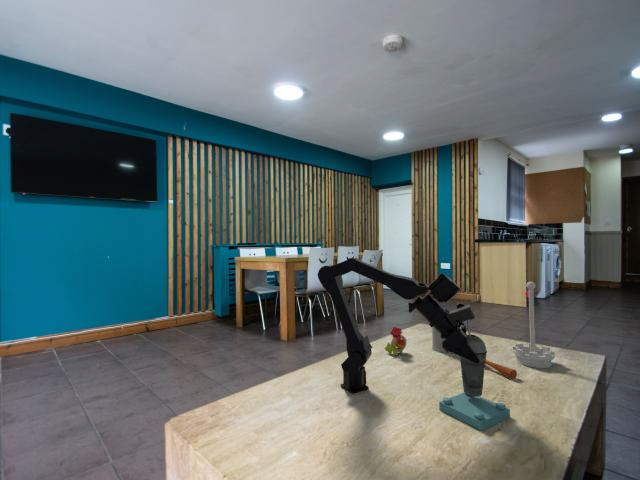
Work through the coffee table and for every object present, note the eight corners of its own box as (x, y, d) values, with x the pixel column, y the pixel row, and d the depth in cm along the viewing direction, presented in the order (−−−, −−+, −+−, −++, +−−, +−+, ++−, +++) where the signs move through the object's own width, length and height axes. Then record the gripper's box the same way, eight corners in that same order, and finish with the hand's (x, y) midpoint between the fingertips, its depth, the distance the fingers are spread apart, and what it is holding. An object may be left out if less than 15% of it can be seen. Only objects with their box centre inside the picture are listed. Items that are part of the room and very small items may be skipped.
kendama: (505, 369, 105) (458, 347, 123) (507, 386, 105) (460, 361, 124) (518, 363, 107) (470, 342, 125) (520, 380, 107) (471, 356, 126)
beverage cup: (479, 401, 83) (477, 323, 84) (452, 391, 89) (451, 318, 90) (493, 393, 88) (491, 319, 88) (467, 384, 93) (466, 314, 94)
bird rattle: (395, 355, 137) (379, 350, 133) (403, 329, 139) (387, 323, 135) (406, 359, 131) (390, 354, 127) (413, 333, 134) (398, 326, 130)
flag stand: (562, 369, 113) (560, 283, 114) (522, 368, 115) (519, 283, 116) (543, 357, 126) (541, 279, 127) (507, 356, 128) (505, 279, 129)
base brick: (481, 430, 76) (481, 418, 77) (439, 409, 87) (439, 398, 87) (510, 416, 83) (509, 405, 83) (467, 398, 93) (467, 388, 93)
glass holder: (435, 344, 144) (435, 310, 144) (469, 351, 135) (469, 314, 135) (428, 349, 137) (427, 314, 137) (463, 356, 128) (462, 318, 128)
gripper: (455, 299, 82) (506, 349, 77) (455, 290, 99) (497, 330, 95) (423, 328, 85) (470, 377, 80) (428, 314, 102) (468, 354, 97)
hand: (477, 357), depth 88 cm, fingers closed on beverage cup, 7 cm apart
